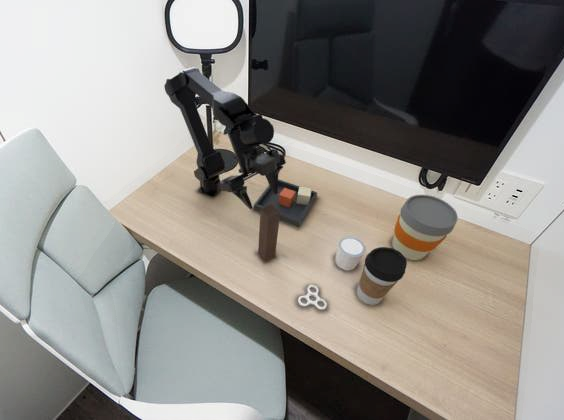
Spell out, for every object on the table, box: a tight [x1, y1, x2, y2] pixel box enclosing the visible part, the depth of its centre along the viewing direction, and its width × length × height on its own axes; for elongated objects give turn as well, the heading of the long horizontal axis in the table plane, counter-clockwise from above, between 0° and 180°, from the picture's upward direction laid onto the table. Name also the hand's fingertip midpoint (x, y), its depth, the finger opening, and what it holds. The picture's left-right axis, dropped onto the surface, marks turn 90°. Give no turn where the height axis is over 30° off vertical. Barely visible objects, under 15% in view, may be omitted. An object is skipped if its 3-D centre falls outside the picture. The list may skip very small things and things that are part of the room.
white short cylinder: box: [334, 236, 366, 271], centre depth 85 cm, size 7×7×7 cm
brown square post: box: [257, 204, 281, 263], centre depth 83 cm, size 4×4×18 cm
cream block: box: [296, 186, 313, 205], centre depth 103 cm, size 4×4×4 cm
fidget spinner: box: [297, 284, 328, 311], centre depth 79 cm, size 7×6×1 cm
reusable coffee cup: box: [391, 194, 459, 261], centre depth 85 cm, size 13×13×15 cm
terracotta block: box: [278, 188, 296, 208], centre depth 102 cm, size 4×4×4 cm
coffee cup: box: [356, 246, 408, 306], centre depth 74 cm, size 8×8×15 cm
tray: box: [253, 178, 318, 228], centre depth 103 cm, size 16×16×3 cm
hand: (263, 201), depth 86 cm, fingers open, 9 cm apart
